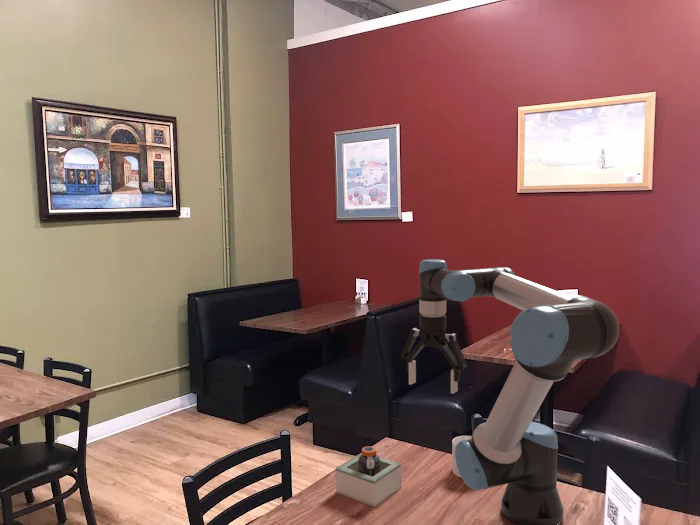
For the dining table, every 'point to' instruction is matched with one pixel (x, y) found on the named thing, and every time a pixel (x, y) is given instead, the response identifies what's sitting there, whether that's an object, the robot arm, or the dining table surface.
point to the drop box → (368, 481)
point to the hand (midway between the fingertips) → (432, 387)
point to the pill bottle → (369, 461)
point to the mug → (454, 443)
